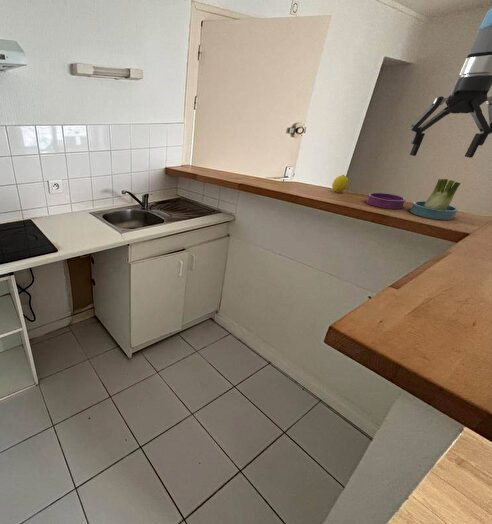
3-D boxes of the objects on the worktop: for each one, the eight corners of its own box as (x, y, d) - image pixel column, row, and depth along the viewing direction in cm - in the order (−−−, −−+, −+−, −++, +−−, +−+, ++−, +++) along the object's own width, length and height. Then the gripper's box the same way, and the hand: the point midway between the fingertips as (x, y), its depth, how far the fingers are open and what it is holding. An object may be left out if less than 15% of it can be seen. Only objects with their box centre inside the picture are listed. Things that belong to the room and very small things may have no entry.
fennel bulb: (445, 217, 95) (464, 181, 90) (428, 216, 96) (446, 181, 90) (433, 211, 100) (451, 177, 94) (417, 211, 101) (434, 177, 95)
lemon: (344, 192, 125) (351, 174, 121) (343, 195, 121) (350, 176, 117) (330, 191, 127) (336, 172, 124) (329, 193, 124) (335, 175, 120)
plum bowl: (397, 203, 111) (401, 194, 109) (406, 211, 102) (410, 202, 100) (363, 200, 115) (366, 191, 113) (368, 207, 106) (372, 198, 105)
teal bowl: (444, 212, 101) (449, 203, 99) (458, 223, 92) (464, 213, 90) (405, 208, 105) (409, 199, 103) (415, 218, 96) (420, 208, 95)
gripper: (530, 74, 77) (486, 155, 87) (415, 79, 86) (387, 152, 96) (551, 71, 71) (501, 159, 81) (425, 77, 80) (394, 156, 90)
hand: (439, 156), depth 89 cm, fingers open, 13 cm apart
